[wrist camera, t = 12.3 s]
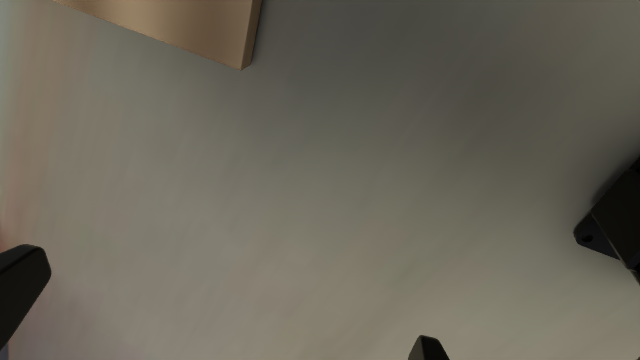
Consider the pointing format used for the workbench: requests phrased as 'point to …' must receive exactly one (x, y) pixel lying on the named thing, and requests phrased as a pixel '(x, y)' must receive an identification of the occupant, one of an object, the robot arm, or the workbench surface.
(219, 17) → the board
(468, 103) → the workbench surface
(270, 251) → the workbench surface
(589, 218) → the robot arm
